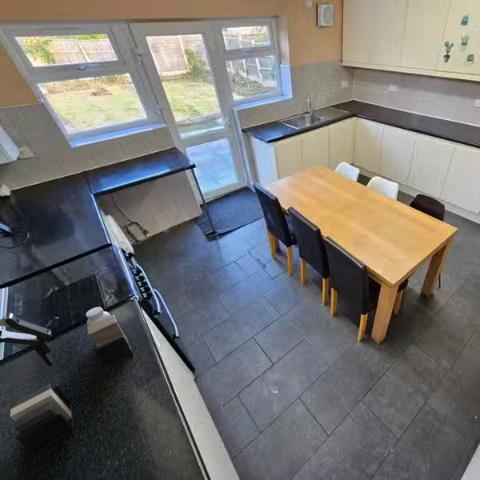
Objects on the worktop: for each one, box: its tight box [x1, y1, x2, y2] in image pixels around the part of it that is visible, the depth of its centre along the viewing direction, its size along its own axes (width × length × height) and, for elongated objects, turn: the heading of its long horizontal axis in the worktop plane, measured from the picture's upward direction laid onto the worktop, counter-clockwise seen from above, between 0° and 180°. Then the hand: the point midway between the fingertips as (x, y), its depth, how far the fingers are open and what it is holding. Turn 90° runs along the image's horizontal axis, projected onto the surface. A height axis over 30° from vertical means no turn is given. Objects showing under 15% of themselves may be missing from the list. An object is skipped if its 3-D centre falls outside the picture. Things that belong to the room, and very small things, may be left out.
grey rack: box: [14, 383, 75, 455], centre depth 72 cm, size 11×8×11 cm
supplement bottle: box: [85, 306, 111, 326], centre depth 98 cm, size 7×7×13 cm
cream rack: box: [86, 314, 134, 368], centre depth 92 cm, size 11×8×12 cm
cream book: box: [9, 389, 72, 423], centre depth 71 cm, size 2×8×11 cm, turn 133°
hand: (13, 379), depth 64 cm, fingers open, 13 cm apart
